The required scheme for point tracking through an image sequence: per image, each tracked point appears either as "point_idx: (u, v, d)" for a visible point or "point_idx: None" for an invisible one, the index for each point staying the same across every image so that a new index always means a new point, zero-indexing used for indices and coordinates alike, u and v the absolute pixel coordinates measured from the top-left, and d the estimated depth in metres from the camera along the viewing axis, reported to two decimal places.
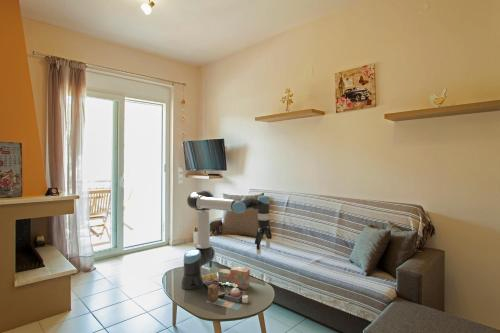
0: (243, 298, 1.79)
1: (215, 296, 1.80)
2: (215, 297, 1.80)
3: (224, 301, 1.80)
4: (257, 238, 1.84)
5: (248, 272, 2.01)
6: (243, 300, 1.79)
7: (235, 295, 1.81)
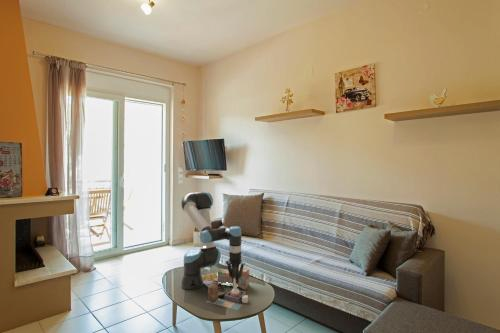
0: (243, 298, 1.79)
1: (215, 296, 1.80)
2: (215, 297, 1.80)
3: (224, 301, 1.80)
4: None
5: (247, 272, 2.01)
6: (243, 300, 1.79)
7: (235, 296, 1.81)
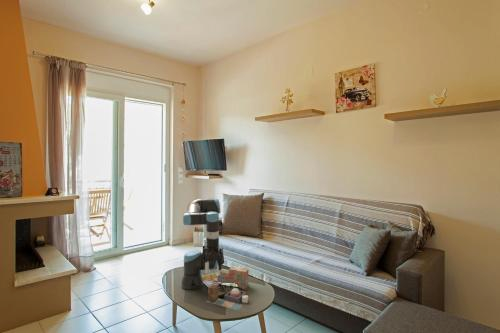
0: (243, 298, 1.79)
1: (215, 296, 1.80)
2: (215, 297, 1.80)
3: (224, 301, 1.80)
4: None
5: (247, 272, 2.01)
6: (243, 300, 1.79)
7: (235, 296, 1.81)
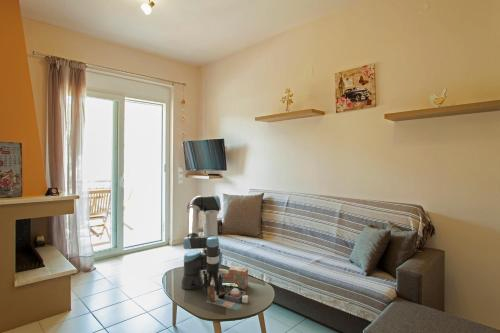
0: (243, 298, 1.79)
1: None
2: None
3: (224, 301, 1.80)
4: None
5: (246, 272, 2.01)
6: (243, 300, 1.79)
7: (235, 296, 1.81)
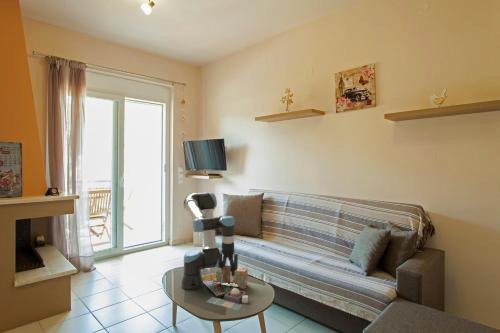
0: (243, 298, 1.79)
1: None
2: None
3: (224, 301, 1.80)
4: None
5: (246, 272, 2.01)
6: (243, 300, 1.79)
7: (235, 296, 1.81)
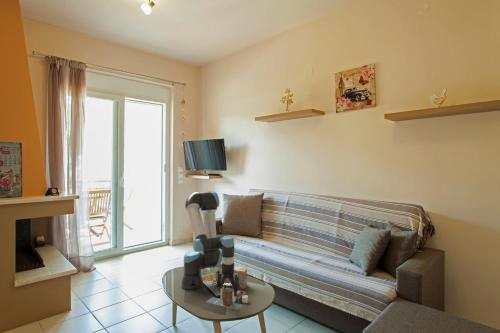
0: (243, 298, 1.79)
1: (231, 300, 1.76)
2: (230, 301, 1.75)
3: None
4: None
5: (245, 272, 2.01)
6: (243, 300, 1.79)
7: None
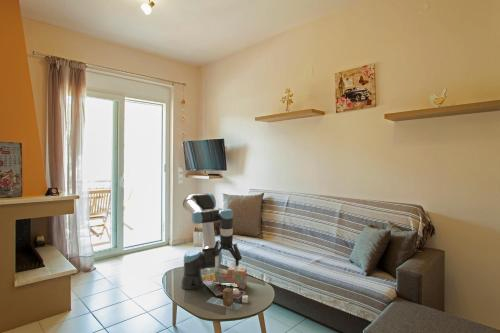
0: (243, 298, 1.79)
1: (231, 300, 1.76)
2: (230, 301, 1.75)
3: None
4: None
5: (245, 272, 2.01)
6: (243, 300, 1.79)
7: (235, 296, 1.81)
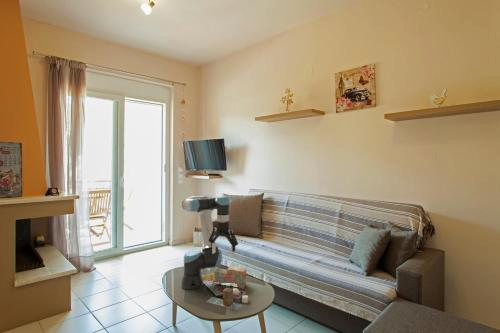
0: (243, 298, 1.79)
1: (231, 300, 1.76)
2: (230, 301, 1.75)
3: None
4: None
5: (245, 272, 2.01)
6: (243, 300, 1.79)
7: (235, 296, 1.81)
